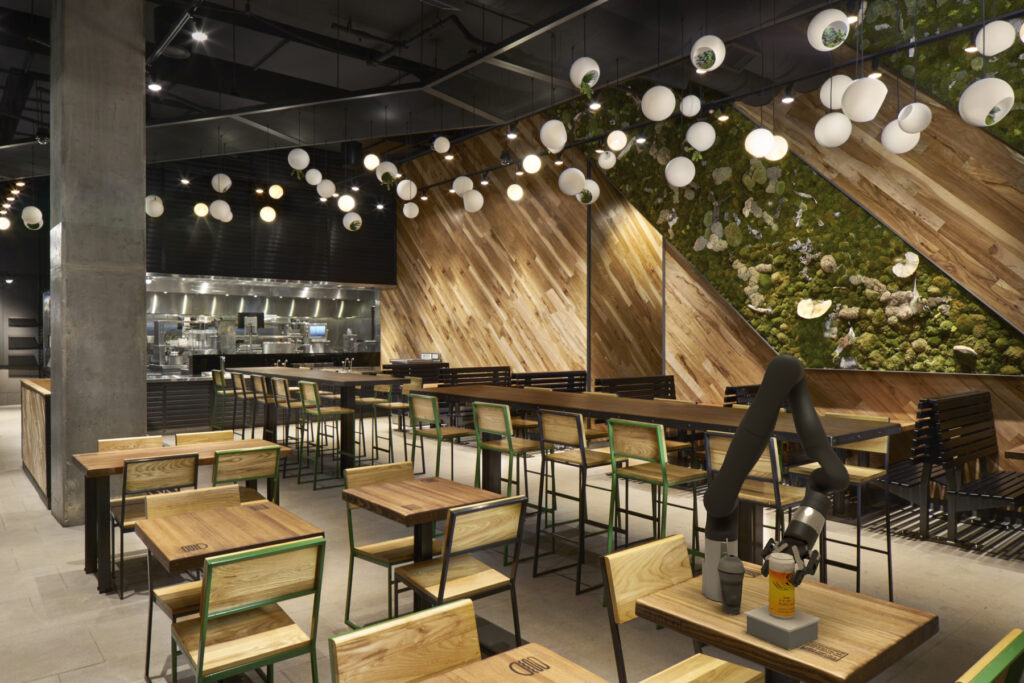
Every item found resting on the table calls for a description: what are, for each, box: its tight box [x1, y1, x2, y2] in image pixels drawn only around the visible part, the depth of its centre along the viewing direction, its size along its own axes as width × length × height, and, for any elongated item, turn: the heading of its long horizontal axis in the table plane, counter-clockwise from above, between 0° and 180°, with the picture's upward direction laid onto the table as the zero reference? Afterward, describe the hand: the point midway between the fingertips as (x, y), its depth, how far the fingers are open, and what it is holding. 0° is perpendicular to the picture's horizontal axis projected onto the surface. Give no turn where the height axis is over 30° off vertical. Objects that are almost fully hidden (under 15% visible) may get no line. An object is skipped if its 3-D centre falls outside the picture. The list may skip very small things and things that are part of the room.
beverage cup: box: [717, 538, 746, 616], centre depth 182 cm, size 7×7×20 cm
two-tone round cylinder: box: [768, 553, 796, 619], centre depth 166 cm, size 6×6×15 cm
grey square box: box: [743, 603, 822, 650], centre depth 166 cm, size 13×13×5 cm
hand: (778, 580), depth 166 cm, fingers open, 8 cm apart
